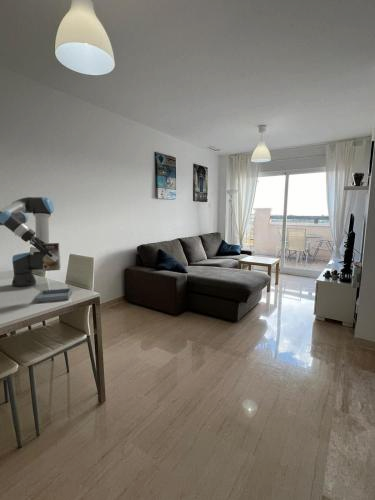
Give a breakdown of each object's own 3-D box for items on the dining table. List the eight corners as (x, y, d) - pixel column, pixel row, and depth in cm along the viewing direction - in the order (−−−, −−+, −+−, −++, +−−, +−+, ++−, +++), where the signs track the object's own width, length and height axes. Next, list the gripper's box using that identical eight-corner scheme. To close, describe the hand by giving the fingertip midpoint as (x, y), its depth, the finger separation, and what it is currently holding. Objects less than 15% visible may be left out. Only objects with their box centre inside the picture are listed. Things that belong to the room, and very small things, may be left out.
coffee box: (43, 271, 153) (40, 244, 150) (44, 269, 158) (42, 243, 156) (60, 270, 156) (58, 243, 154) (61, 268, 162) (59, 242, 159)
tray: (41, 295, 165) (41, 290, 164) (72, 292, 170) (71, 288, 169) (34, 303, 150) (34, 298, 149) (68, 300, 155) (68, 295, 154)
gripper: (25, 236, 159) (56, 260, 166) (14, 239, 141) (50, 266, 148) (34, 227, 160) (65, 252, 167) (24, 229, 141) (59, 257, 148)
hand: (57, 258), depth 157 cm, fingers closed on coffee box, 7 cm apart
